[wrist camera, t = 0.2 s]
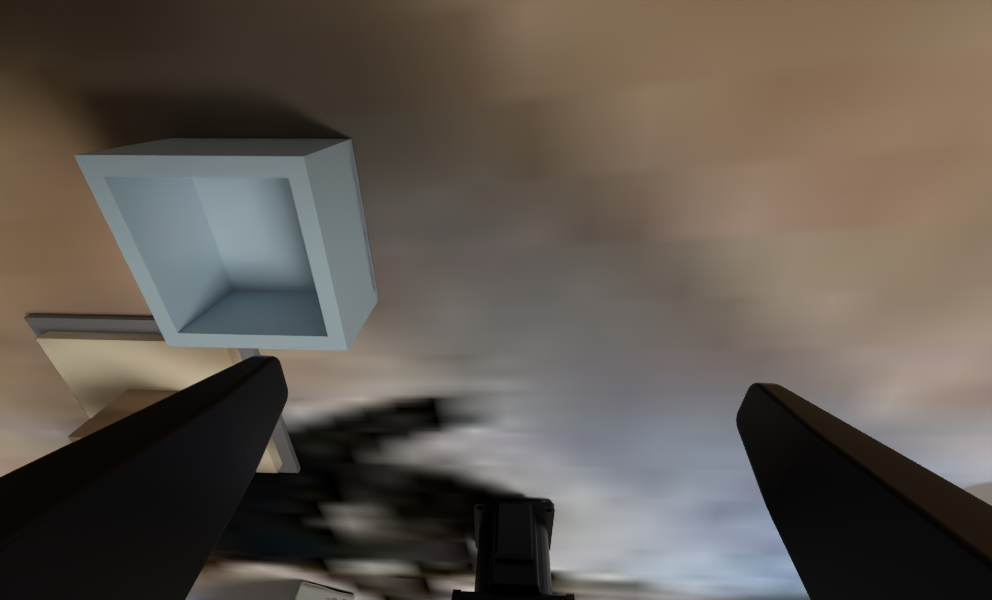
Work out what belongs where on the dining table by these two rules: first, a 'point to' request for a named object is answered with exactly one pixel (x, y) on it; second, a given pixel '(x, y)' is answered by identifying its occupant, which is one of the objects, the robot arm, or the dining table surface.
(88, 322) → the mat
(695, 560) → the dining table surface
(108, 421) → the lid
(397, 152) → the dining table surface
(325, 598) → the skincare box
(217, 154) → the light blue storage bin
